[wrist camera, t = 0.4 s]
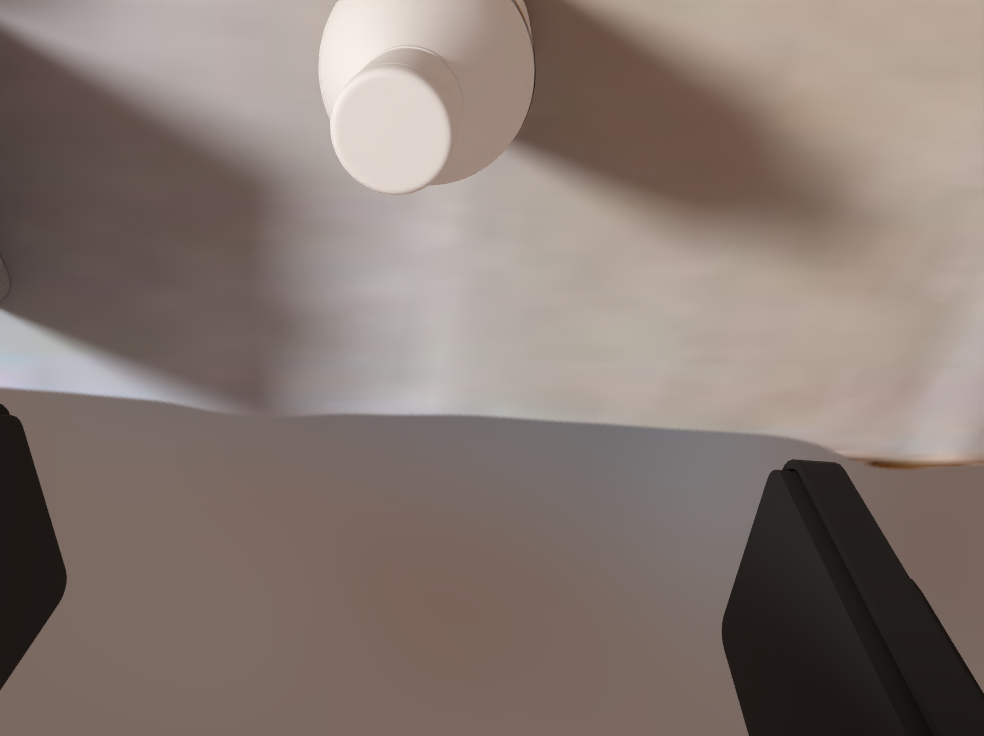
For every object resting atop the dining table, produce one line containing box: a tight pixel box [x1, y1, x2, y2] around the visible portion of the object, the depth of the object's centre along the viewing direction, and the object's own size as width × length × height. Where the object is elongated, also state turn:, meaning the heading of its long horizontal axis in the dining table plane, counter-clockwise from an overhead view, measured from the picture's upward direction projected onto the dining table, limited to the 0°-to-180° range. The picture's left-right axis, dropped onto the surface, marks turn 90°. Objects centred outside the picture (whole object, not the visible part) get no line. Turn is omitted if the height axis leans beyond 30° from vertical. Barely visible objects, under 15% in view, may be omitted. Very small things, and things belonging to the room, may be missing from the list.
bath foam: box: [319, 0, 535, 195], centre depth 26 cm, size 7×7×20 cm
